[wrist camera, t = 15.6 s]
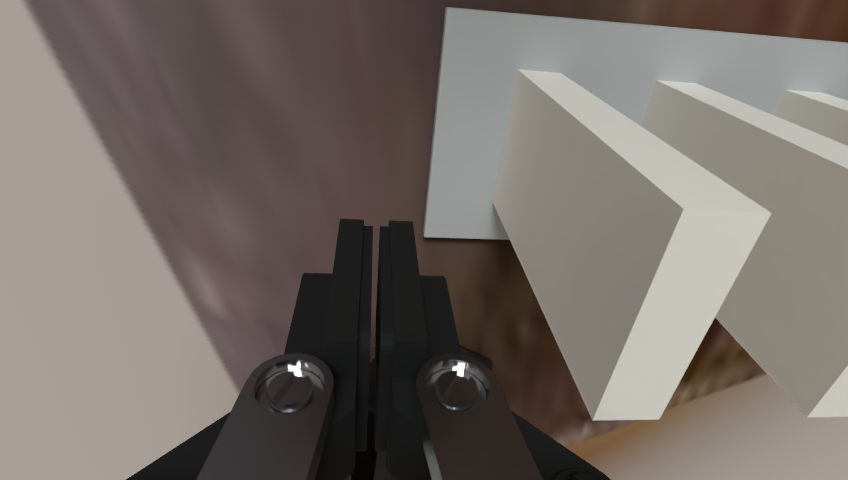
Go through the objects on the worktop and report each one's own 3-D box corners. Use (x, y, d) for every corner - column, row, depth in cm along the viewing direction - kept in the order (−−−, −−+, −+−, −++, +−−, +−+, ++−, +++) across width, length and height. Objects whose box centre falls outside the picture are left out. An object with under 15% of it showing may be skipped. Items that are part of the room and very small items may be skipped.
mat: (1093, 64, 21) (1107, 66, 21) (946, 248, 26) (956, 253, 26) (445, 6, 18) (447, 8, 17) (423, 231, 23) (424, 237, 23)
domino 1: (492, 202, 22) (592, 420, 12) (517, 69, 19) (683, 209, 9) (529, 203, 22) (659, 419, 12) (560, 72, 19) (771, 213, 9)
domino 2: (696, 83, 20) (1037, 224, 10) (648, 208, 23) (866, 416, 13) (656, 80, 19) (961, 221, 9) (613, 207, 23) (806, 417, 12)
